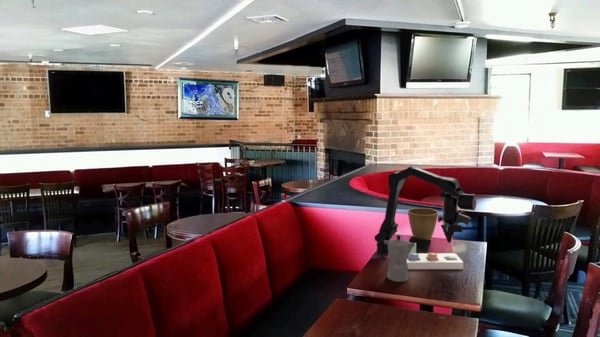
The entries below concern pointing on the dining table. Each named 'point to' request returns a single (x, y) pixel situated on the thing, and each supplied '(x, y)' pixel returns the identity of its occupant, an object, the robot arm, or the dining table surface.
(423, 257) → the button panel
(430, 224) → the plant pot
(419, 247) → the handheld gaming console
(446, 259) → the sage green button
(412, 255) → the slate blue button
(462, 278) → the dining table surface
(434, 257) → the terracotta button
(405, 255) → the coffeepot
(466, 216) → the robot arm
